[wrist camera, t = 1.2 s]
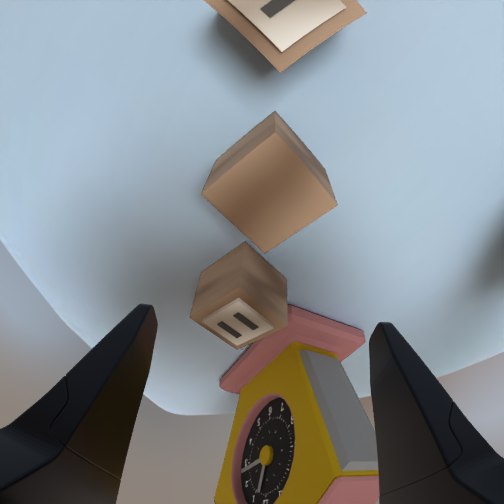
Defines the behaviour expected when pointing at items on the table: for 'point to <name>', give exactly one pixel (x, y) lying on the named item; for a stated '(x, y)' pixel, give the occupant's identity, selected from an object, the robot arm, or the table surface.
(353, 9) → the numbered block
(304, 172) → the plain block
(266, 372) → the pink yellow upright block
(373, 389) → the robot arm
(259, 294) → the numbered block
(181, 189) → the table surface
